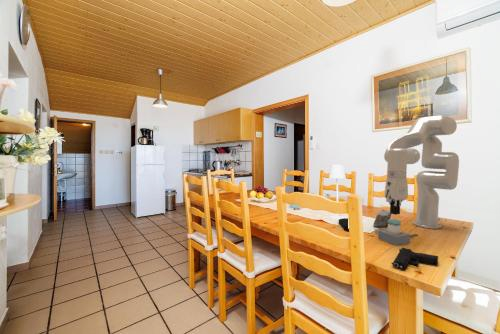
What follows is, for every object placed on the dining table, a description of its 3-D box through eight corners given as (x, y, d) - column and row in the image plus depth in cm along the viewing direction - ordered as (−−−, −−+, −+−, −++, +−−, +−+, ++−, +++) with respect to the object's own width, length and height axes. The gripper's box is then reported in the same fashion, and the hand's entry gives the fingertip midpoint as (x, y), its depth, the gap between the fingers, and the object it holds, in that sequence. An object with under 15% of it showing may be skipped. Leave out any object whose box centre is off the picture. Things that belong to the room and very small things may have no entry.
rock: (380, 229, 118) (383, 211, 118) (365, 224, 125) (368, 207, 125) (394, 229, 126) (397, 212, 126) (379, 224, 134) (382, 208, 134)
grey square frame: (383, 231, 116) (383, 227, 116) (396, 235, 110) (396, 232, 110) (375, 233, 113) (375, 229, 113) (387, 237, 107) (387, 233, 107)
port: (390, 236, 109) (391, 228, 109) (409, 242, 101) (410, 234, 101) (378, 238, 106) (378, 230, 106) (396, 245, 98) (397, 237, 98)
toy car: (350, 223, 131) (350, 215, 130) (360, 233, 114) (360, 223, 114) (337, 222, 132) (337, 214, 131) (345, 232, 115) (345, 223, 115)
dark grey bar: (415, 235, 111) (416, 234, 111) (417, 235, 110) (417, 234, 110) (401, 238, 106) (401, 237, 106) (403, 239, 106) (403, 237, 106)
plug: (399, 241, 103) (400, 220, 102) (394, 242, 101) (395, 221, 101) (392, 238, 106) (393, 218, 106) (387, 239, 105) (388, 219, 104)
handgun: (433, 282, 71) (390, 268, 80) (437, 263, 84) (400, 252, 92) (434, 272, 71) (391, 259, 79) (438, 254, 83) (401, 244, 92)
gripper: (393, 176, 95) (391, 217, 96) (415, 175, 101) (413, 214, 102) (377, 174, 102) (376, 213, 103) (399, 173, 108) (397, 210, 109)
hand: (394, 213), depth 103 cm, fingers closed
